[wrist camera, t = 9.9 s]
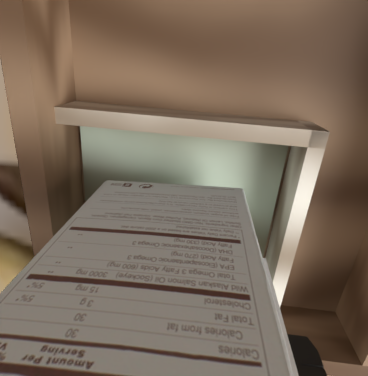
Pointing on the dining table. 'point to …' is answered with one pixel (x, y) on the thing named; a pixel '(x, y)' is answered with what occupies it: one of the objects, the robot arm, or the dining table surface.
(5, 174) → the dining table surface
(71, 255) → the supplement box
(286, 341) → the robot arm
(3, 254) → the dining table surface
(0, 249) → the dining table surface
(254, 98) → the crate
